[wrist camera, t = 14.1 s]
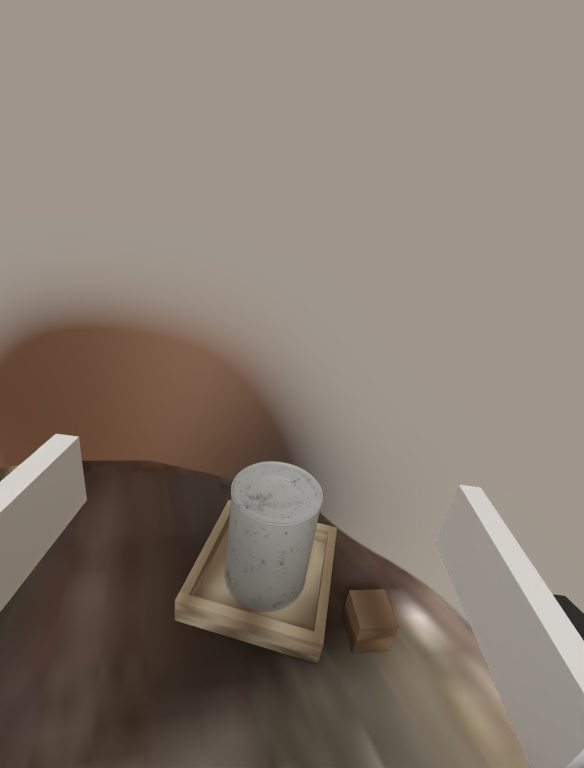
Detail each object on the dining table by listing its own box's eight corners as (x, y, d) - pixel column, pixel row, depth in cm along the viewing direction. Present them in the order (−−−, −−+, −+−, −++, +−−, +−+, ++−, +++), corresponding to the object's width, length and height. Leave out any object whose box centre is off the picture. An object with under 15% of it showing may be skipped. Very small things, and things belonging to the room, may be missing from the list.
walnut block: (351, 653, 37) (360, 628, 35) (342, 614, 40) (349, 590, 39) (389, 651, 37) (398, 626, 36) (376, 613, 41) (384, 589, 39)
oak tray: (174, 620, 37) (174, 600, 36) (227, 516, 51) (228, 500, 50) (318, 664, 35) (323, 645, 34) (332, 544, 49) (336, 527, 48)
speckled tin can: (229, 536, 47) (236, 457, 42) (303, 541, 47) (318, 465, 42) (218, 609, 38) (224, 521, 33) (308, 614, 39) (328, 528, 34)
